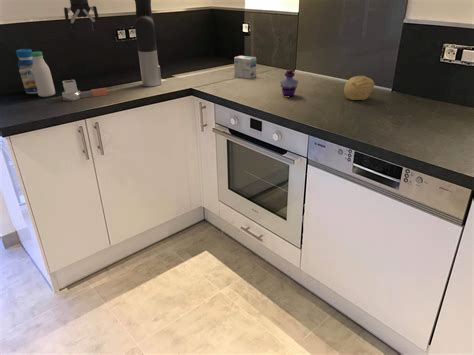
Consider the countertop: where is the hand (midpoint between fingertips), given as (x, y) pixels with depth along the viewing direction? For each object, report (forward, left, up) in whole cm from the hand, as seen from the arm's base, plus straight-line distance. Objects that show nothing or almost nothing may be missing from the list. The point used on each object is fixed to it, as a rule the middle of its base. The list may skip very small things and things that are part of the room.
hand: (84, 31), depth 176 cm
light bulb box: (-79, +12, -28) cm, 85 cm away
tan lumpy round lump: (-103, +74, -28) cm, 130 cm away
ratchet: (+6, +8, -28) cm, 30 cm away
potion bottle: (-79, +54, -28) cm, 100 cm away
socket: (+12, +8, -25) cm, 29 cm away
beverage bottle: (+27, -14, -28) cm, 42 cm away
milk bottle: (+22, -5, -28) cm, 36 cm away
